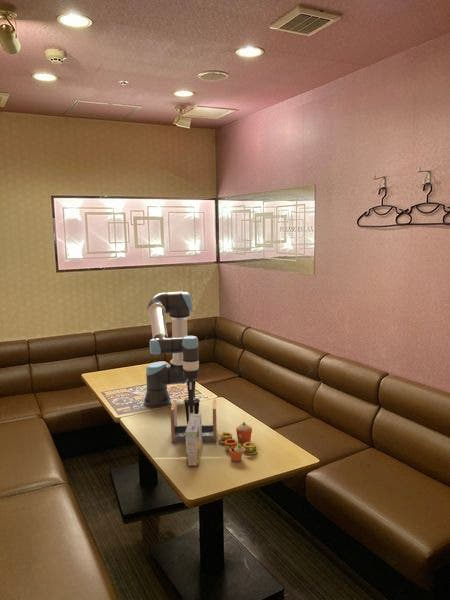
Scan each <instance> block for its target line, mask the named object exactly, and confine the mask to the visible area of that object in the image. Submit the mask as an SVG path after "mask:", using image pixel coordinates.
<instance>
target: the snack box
mask: <svg viewBox="0 0 450 600" xmlns="http://www.w3.org/2000/svg"><path fill="white" fill-rule="evenodd" d="M186 425H187V424H186ZM202 425H203V424H202V414H201V413H199V414H190V418H189V421H188V425H187V428H186V431H185V438H186V443H185V453H186V454H185V455H186V466H187V467H197V466H199V465H200V459H201V454H202V449H203V446H204V445H203V443H204V442H202Z"/></svg>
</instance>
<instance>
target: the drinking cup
mask: <svg viewBox="0 0 450 600" xmlns="http://www.w3.org/2000/svg"><path fill="white" fill-rule="evenodd" d="M200 401H201V399H200V398H197V397H195V398H194V411H195V414H200ZM183 403H184V408H185V409H184V410H185V417H186V425H188V421H189V406H187V405H188V397H187V398H185V399H184V400H183Z"/></svg>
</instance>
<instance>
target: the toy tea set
mask: <svg viewBox="0 0 450 600" xmlns="http://www.w3.org/2000/svg"><path fill="white" fill-rule="evenodd" d="M235 431H236V437H237V438H236V439H234V438H233V434H232V433H231V432H226V431H223V432H221V433H220V437H218V439H219V443H220V444H224V446H225V450H226V451H227V452H229V455H230V459H231V461H233V462H240V461H241V460H242V458H243V457H242V456H243V454H245V455H255V454H257V453H258V449H257V445H256V443H255V442H252V441H251V440H252V433H253V428H252V426H250V425H249V424H248V423H246V422H245V421H243V422H242V423H241V424H239V425H238V426H237V427H236V428H235ZM237 443H238V444H237ZM242 444H243V446H242Z"/></svg>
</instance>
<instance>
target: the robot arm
mask: <svg viewBox="0 0 450 600" xmlns="http://www.w3.org/2000/svg"><path fill="white" fill-rule="evenodd" d="M193 311H194V310H193V302H192V298H191V295H190V292H188V291H170V292H169V291H168V292H159V293H157V294H156V295H154V296H153V297H152V298H151V299H150V301H149V302H148V304H147V314H148V316H149V317H150V325H151V326H150V328H151V333H152V339H149V353H150V354H151V355H166V354H167V355H168V354H169V355H170V354H172V359H170V361H169V363H168V364H167V362H166V361H154V362H151V363H149V364H148V365H147V366H146V367H145V376H146V377H145V378H146V379H145V380H146V392H145V396H144V399H143V404H144V406H146V407H149V408H162V407H166V406H168V405H170V404H171V402H172V401H171V400H172V399H171V396H170V394H169V391H168V386H169V385H184V384H186V386H187V398H188V405H187V406H189V418H190V414H195V411H194V398H196V385H197V384H196V382H197V380H196V379H197V378H199V377H200V369H199V368H200V361H199V360H200V359H199V344H200V343H199V338H198V337H197V336H195V335H188V318H190V316H191V315H190V314H191V313H193ZM165 314H168V317H169V318H171V330H172V331H171V335H172V336H171V337H169V335H168V330H167V323H166V316H165Z"/></svg>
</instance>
